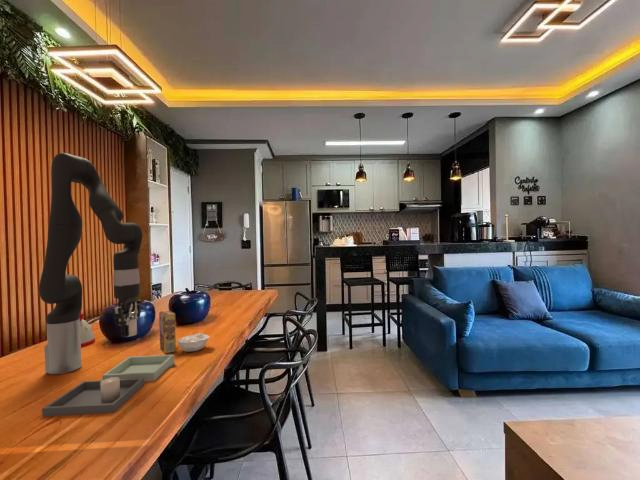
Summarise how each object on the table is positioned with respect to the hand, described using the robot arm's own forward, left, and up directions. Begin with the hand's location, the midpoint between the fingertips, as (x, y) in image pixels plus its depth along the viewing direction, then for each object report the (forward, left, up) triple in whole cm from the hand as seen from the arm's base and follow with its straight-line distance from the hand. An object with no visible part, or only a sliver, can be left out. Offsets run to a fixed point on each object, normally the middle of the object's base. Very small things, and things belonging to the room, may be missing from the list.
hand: (129, 333), depth 109 cm
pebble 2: (0, 0, 0) cm, 0 cm away
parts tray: (0, -18, -14) cm, 23 cm away
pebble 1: (+4, -18, -13) cm, 22 cm away
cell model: (+13, +22, -14) cm, 29 cm away
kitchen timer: (-43, +37, -14) cm, 58 cm away
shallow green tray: (+3, 0, -14) cm, 14 cm away
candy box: (+2, +24, -14) cm, 28 cm away
